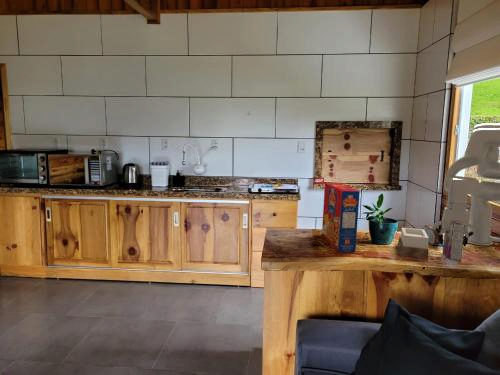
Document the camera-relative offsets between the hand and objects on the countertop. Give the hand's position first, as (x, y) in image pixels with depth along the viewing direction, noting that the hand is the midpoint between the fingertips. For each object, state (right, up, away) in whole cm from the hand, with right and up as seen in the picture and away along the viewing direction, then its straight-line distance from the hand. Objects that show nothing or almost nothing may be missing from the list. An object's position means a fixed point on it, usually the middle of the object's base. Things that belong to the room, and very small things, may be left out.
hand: (452, 244), depth 167 cm
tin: (0, -3, +22) cm, 22 cm away
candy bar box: (0, -6, +1) cm, 6 cm away
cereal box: (-48, -2, +16) cm, 50 cm away
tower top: (-15, 0, +6) cm, 16 cm away
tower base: (-15, -5, +7) cm, 17 cm away
